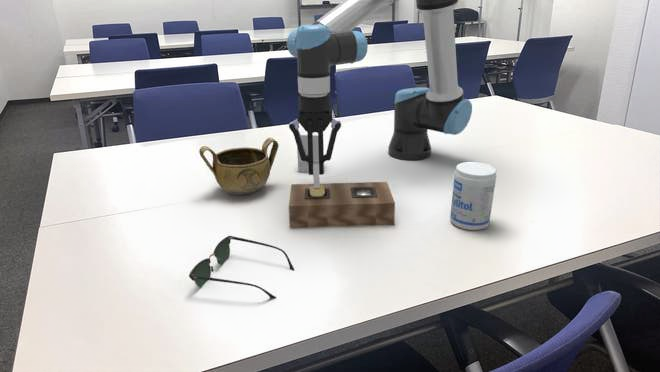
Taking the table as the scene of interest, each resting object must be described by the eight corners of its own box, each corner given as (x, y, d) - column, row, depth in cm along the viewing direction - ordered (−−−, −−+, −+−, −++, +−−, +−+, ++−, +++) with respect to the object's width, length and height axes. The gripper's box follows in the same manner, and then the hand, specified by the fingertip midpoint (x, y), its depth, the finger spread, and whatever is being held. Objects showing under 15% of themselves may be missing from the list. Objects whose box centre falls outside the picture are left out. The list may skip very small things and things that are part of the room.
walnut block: (386, 201, 131) (387, 180, 129) (394, 224, 118) (395, 201, 116) (292, 204, 131) (291, 183, 128) (289, 227, 118) (288, 204, 115)
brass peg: (325, 202, 125) (324, 183, 123) (325, 209, 122) (325, 189, 119) (310, 203, 125) (309, 184, 123) (309, 209, 122) (309, 190, 119)
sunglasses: (269, 309, 88) (268, 287, 86) (189, 295, 93) (186, 273, 91) (299, 264, 103) (298, 243, 101) (229, 253, 107) (227, 234, 105)
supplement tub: (443, 224, 118) (447, 168, 113) (460, 211, 125) (465, 158, 119) (480, 235, 112) (486, 178, 107) (496, 221, 119) (503, 166, 113)
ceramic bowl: (212, 208, 129) (205, 156, 123) (199, 187, 143) (193, 139, 138) (288, 193, 138) (286, 144, 132) (270, 175, 152) (266, 129, 146)
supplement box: (319, 173, 153) (318, 135, 148) (297, 172, 154) (295, 134, 149) (324, 165, 159) (323, 129, 154) (303, 164, 161) (301, 128, 156)
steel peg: (370, 208, 126) (370, 189, 124) (372, 215, 123) (372, 195, 120) (355, 208, 126) (355, 190, 124) (356, 215, 123) (356, 196, 120)
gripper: (341, 90, 116) (341, 180, 125) (287, 91, 116) (291, 181, 124) (342, 96, 109) (342, 191, 118) (285, 97, 109) (290, 192, 117)
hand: (316, 186), depth 121 cm, fingers closed
